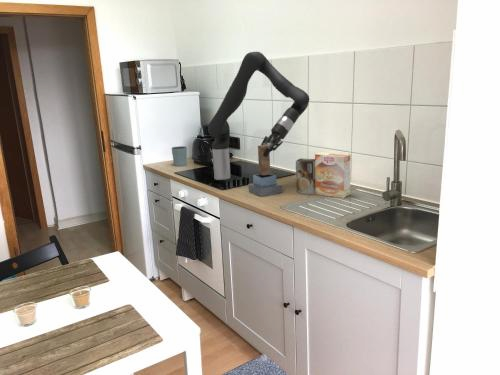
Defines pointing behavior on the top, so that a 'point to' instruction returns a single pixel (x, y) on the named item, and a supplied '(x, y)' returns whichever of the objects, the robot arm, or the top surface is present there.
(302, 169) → the coffee box
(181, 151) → the grey-blue cup
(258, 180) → the cup bracket
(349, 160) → the coffeecake box
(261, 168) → the walnut rail
